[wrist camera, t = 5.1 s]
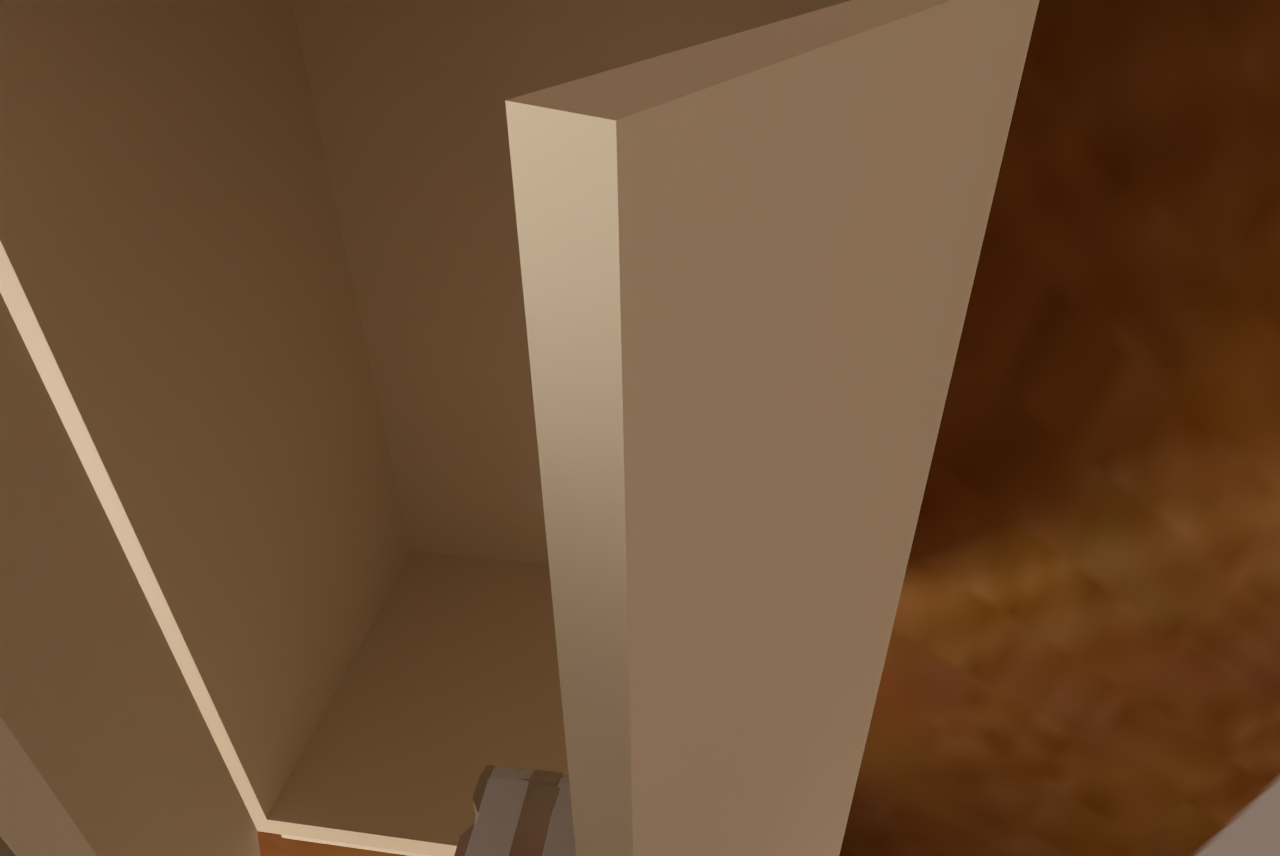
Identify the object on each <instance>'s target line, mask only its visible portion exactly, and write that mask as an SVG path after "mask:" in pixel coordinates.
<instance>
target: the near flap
mask: <svg viewBox="0 0 1280 856" xmlns="http://www.w3.org/2000/svg"><path fill="white" fill-rule="evenodd" d="M1038 4H1039V0H851V1H847V2H844V3H840V4H837V5H833V6H830V7H826V8H823V9H819V10H816V11H813V12H809V13H806V14H802V15H799V16H795V17H792V18H788V19H785V20H781V21H778V22H774V23H771V24H768V25H764V26H761V27H757V28H754V29H750V30H747V31H743V32H740V33H736V34H733V35H729V36H726V37H723V38H719V39H716V40H712V41H709V42H705V43H702V44H698V45H695V46H691V47H688V48H685V49H681V50H678V51H674V52H671V53H667V54H664V55H660V56H657V57H653V58H650V59H646V60H643V61H640V62H636V63H633V64H629V65H626V66H622V67H619V68H615V69H612V70H608V71H605V72H601V73H598V74H595V75H591V76H588V77H584V78H581V79H577V80H574V81H570V82H567V83H563V84H560V85H557V86H553V87H550V88H546V89H543V90H539V91H536V92H532V93H529V94H525V95H522V96H518V97H515V98H512V99H508V100H505V104H506V115H507V126H508V136H509V147H510V157H511V168H512V179H513V189H514V200H515V210H516V221H517V232H518V242H519V253H520V263H521V274H522V285H523V295H524V306H525V316H526V327H527V338H528V348H529V359H530V370H531V380H532V391H533V401H534V412H535V423H536V433H537V444H538V454H539V465H540V476H541V486H542V497H543V507H544V518H545V529H546V539H547V550H548V560H549V571H550V582H551V592H552V603H553V614H554V624H555V635H556V645H557V656H558V667H559V677H560V688H561V698H562V709H563V720H564V730H565V741H566V751H567V762H568V773H569V783H570V794H571V804H572V815H573V826H574V836H575V847H576V856H839V855H840V850H841V846H842V842H843V837H844V833H845V829H846V825H847V820H848V816H849V812H850V808H851V803H852V799H853V795H854V790H855V786H856V782H857V778H858V773H859V769H860V765H861V761H862V756H863V752H864V748H865V743H866V739H867V735H868V731H869V726H870V722H871V718H872V714H873V709H874V705H875V701H876V696H877V692H878V688H879V684H880V679H881V675H882V671H883V667H884V662H885V658H886V654H887V649H888V645H889V641H890V637H891V632H892V628H893V624H894V620H895V615H896V611H897V607H898V602H899V598H900V594H901V590H902V585H903V581H904V577H905V573H906V568H907V564H908V560H909V555H910V551H911V547H912V543H913V538H914V534H915V530H916V526H917V521H918V517H919V513H920V509H921V504H922V500H923V496H924V491H925V487H926V483H927V479H928V474H929V470H930V466H931V462H932V457H933V453H934V449H935V444H936V440H937V436H938V432H939V427H940V423H941V419H942V415H943V410H944V406H945V402H946V397H947V393H948V389H949V385H950V380H951V376H952V372H953V368H954V363H955V359H956V355H957V350H958V346H959V342H960V338H961V333H962V329H963V325H964V321H965V316H966V312H967V308H968V303H969V299H970V295H971V291H972V286H973V282H974V278H975V274H976V269H977V265H978V261H979V256H980V252H981V248H982V244H983V239H984V235H985V231H986V227H987V222H988V218H989V214H990V209H991V205H992V201H993V197H994V192H995V188H996V184H997V180H998V175H999V171H1000V167H1001V162H1002V158H1003V154H1004V150H1005V145H1006V141H1007V137H1008V133H1009V128H1010V124H1011V120H1012V115H1013V111H1014V107H1015V103H1016V98H1017V94H1018V90H1019V86H1020V81H1021V77H1022V73H1023V69H1024V64H1025V60H1026V56H1027V51H1028V47H1029V43H1030V39H1031V34H1032V30H1033V26H1034V22H1035V17H1036V13H1037V9H1038Z"/></svg>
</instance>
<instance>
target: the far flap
mask: <svg viewBox="0 0 1280 856" xmlns="http://www.w3.org/2000/svg"><path fill="white" fill-rule="evenodd" d="M0 836H1V837H2V839H3V840H4V841H5V842H6V844H7V845H8V846H9V848H10V849H11V850H12V851H13V853H14V854H15V855H16V856H260V849H259V842H258V834H257V829H256V827H255V825H254V822H253V820H252V818H251V816H250V814H249V812H248V810H247V808H246V806H245V804H244V801H243V799H242V797H241V795H240V793H239V791H238V789H237V787H236V785H235V783H234V781H233V778H232V776H231V774H230V772H229V770H228V768H227V766H226V764H225V762H224V760H223V758H222V755H221V753H220V751H219V749H218V747H217V745H216V743H215V741H214V739H213V737H212V734H211V732H210V730H209V728H208V726H207V724H206V722H205V720H204V718H203V716H202V714H201V711H200V709H199V707H198V705H197V703H196V701H195V699H194V697H193V695H192V693H191V691H190V688H189V686H188V684H187V682H186V680H185V678H184V676H183V674H182V672H181V670H180V668H179V665H178V663H177V661H176V659H175V657H174V655H173V653H172V651H171V649H170V647H169V644H168V642H167V640H166V638H165V636H164V634H163V632H162V630H161V628H160V626H159V624H158V621H157V619H156V617H155V615H154V613H153V611H152V609H151V607H150V605H149V603H148V601H147V598H146V596H145V594H144V592H143V590H142V588H141V586H140V584H139V582H138V580H137V577H136V575H135V573H134V571H133V569H132V567H131V565H130V563H129V561H128V559H127V557H126V554H125V552H124V550H123V548H122V546H121V544H120V542H119V540H118V538H117V536H116V534H115V531H114V529H113V527H112V525H111V523H110V521H109V519H108V517H107V515H106V513H105V510H104V508H103V506H102V504H101V502H100V500H99V498H98V496H97V494H96V492H95V490H94V487H93V485H92V483H91V481H90V479H89V477H88V475H87V473H86V471H85V469H84V467H83V464H82V462H81V460H80V458H79V456H78V454H77V452H76V450H75V448H74V446H73V443H72V441H71V439H70V437H69V435H68V433H67V431H66V429H65V427H64V425H63V423H62V420H61V418H60V416H59V414H58V412H57V410H56V408H55V406H54V404H53V402H52V400H51V397H50V395H49V393H48V391H47V389H46V387H45V385H44V383H43V381H42V379H41V376H40V374H39V372H38V370H37V368H36V366H35V364H34V362H33V360H32V358H31V356H30V353H29V351H28V349H27V347H26V345H25V343H24V341H23V339H22V337H21V335H20V333H19V330H18V328H17V326H16V324H15V322H14V320H13V318H12V316H11V314H10V312H9V309H8V307H7V305H6V303H5V301H4V299H3V297H2V295H1V293H0Z"/></svg>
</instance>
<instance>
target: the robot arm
mask: <svg viewBox="0 0 1280 856" xmlns="http://www.w3.org/2000/svg"><path fill="white" fill-rule="evenodd" d="M472 800H473V805H474V810H475V816H476V819H475V822H474V824H473V825H472V826H471V827H470V828H469V829H468V830H466V831H465V832H464V833H463V834H462V835H461V836H460V839H459V842H458V845H457V848H456V851H455V855H454V856H576V847H575V836H574V826H573V815H572V804H571V794H570V783H569V774H563V772H554V771H544V770H534V769H524V768H514V767H504V766H494V765H487V766H486V767H485V769H484V770H483V772H482V773H481V775H480V777H479V780H478V783H477V786H476V789H475V792H474V795H473V798H472Z"/></svg>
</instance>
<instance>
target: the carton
mask: <svg viewBox="0 0 1280 856" xmlns="http://www.w3.org/2000/svg"><path fill="white" fill-rule="evenodd" d="M847 1H851V0H0V293H1V295H2V297H3V299H4V301H5V303H6V305H7V307H8V309H9V312H10V314H11V316H12V318H13V320H14V322H15V324H16V326H17V328H18V330H19V333H20V335H21V337H22V339H23V341H24V343H25V345H26V347H27V349H28V351H29V353H30V356H31V358H32V360H33V362H34V364H35V366H36V368H37V370H38V372H39V374H40V376H41V379H42V381H43V383H44V385H45V387H46V389H47V391H48V393H49V395H50V397H51V400H52V402H53V404H54V406H55V408H56V410H57V412H58V414H59V416H60V418H61V420H62V423H63V425H64V427H65V429H66V431H67V433H68V435H69V437H70V439H71V441H72V443H73V446H74V448H75V450H76V452H77V454H78V456H79V458H80V460H81V462H82V464H83V467H84V469H85V471H86V473H87V475H88V477H89V479H90V481H91V483H92V485H93V487H94V490H95V492H96V494H97V496H98V498H99V500H100V502H101V504H102V506H103V508H104V510H105V513H106V515H107V517H108V519H109V521H110V523H111V525H112V527H113V529H114V531H115V534H116V536H117V538H118V540H119V542H120V544H121V546H122V548H123V550H124V552H125V554H126V557H127V559H128V561H129V563H130V565H131V567H132V569H133V571H134V573H135V575H136V577H137V580H138V582H139V584H140V586H141V588H142V590H143V592H144V594H145V596H146V598H147V601H148V603H149V605H150V607H151V609H152V611H153V613H154V615H155V617H156V619H157V621H158V624H159V626H160V628H161V630H162V632H163V634H164V636H165V638H166V640H167V642H168V644H169V647H170V649H171V651H172V653H173V655H174V657H175V659H176V661H177V663H178V665H179V668H180V670H181V672H182V674H183V676H184V678H185V680H186V682H187V684H188V686H189V688H190V691H191V693H192V695H193V697H194V699H195V701H196V703H197V705H198V707H199V709H200V711H201V714H202V716H203V718H204V720H205V722H206V724H207V726H208V728H209V730H210V732H211V734H212V737H213V739H214V741H215V743H216V745H217V747H218V749H219V751H220V753H221V755H222V758H223V760H224V762H225V764H226V766H227V768H228V770H229V772H230V774H231V776H232V778H233V781H234V783H235V785H236V787H237V789H238V791H239V793H240V795H241V797H242V799H243V801H244V804H245V806H246V808H247V810H248V812H249V814H250V816H251V818H252V820H253V822H254V825H255V827H256V829H257V831H261V832H268V833H275V834H281V835H282V838H288V839H295V840H302V841H310V842H317V843H324V844H331V845H338V846H345V847H352V848H359V849H366V850H373V851H380V852H387V853H394V854H401V855H408V856H454V855H455V851H456V848H457V845H458V842H459V839H460V836H461V835H462V834H463V833H464V832H465V831H466V830H468V829H469V828H470V827H471V826H472V825H473V824H474V822H475V819H476V816H475V810H474V805H473V800H472V798H473V795H474V792H475V789H476V786H477V783H478V780H479V777H480V775H481V773H482V772H483V770H484V769H485V767H486V766H487V765H494V766H504V767H514V768H524V769H534V770H544V771H554V772H563V774H569V773H568V762H567V751H566V741H565V730H564V720H563V709H562V698H561V688H560V677H559V667H558V656H557V645H556V635H555V624H554V614H553V603H552V592H551V582H550V571H549V560H548V550H547V539H546V529H545V518H544V507H543V497H542V486H541V476H540V465H539V454H538V444H537V433H536V423H535V412H534V401H533V391H532V380H531V370H530V359H529V348H528V338H527V327H526V316H525V306H524V295H523V285H522V274H521V263H520V253H519V242H518V232H517V221H516V210H515V200H514V189H513V179H512V168H511V157H510V147H509V136H508V126H507V115H506V104H505V100H508V99H512V98H515V97H518V96H522V95H525V94H529V93H532V92H536V91H539V90H543V89H546V88H550V87H553V86H557V85H560V84H563V83H567V82H570V81H574V80H577V79H581V78H584V77H588V76H591V75H595V74H598V73H601V72H605V71H608V70H612V69H615V68H619V67H622V66H626V65H629V64H633V63H636V62H640V61H643V60H646V59H650V58H653V57H657V56H660V55H664V54H667V53H671V52H674V51H678V50H681V49H685V48H688V47H691V46H695V45H698V44H702V43H705V42H709V41H712V40H716V39H719V38H723V37H726V36H729V35H733V34H736V33H740V32H743V31H747V30H750V29H754V28H757V27H761V26H764V25H768V24H771V23H774V22H778V21H781V20H785V19H788V18H792V17H795V16H799V15H802V14H806V13H809V12H813V11H816V10H819V9H823V8H826V7H830V6H833V5H837V4H840V3H844V2H847Z"/></svg>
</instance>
